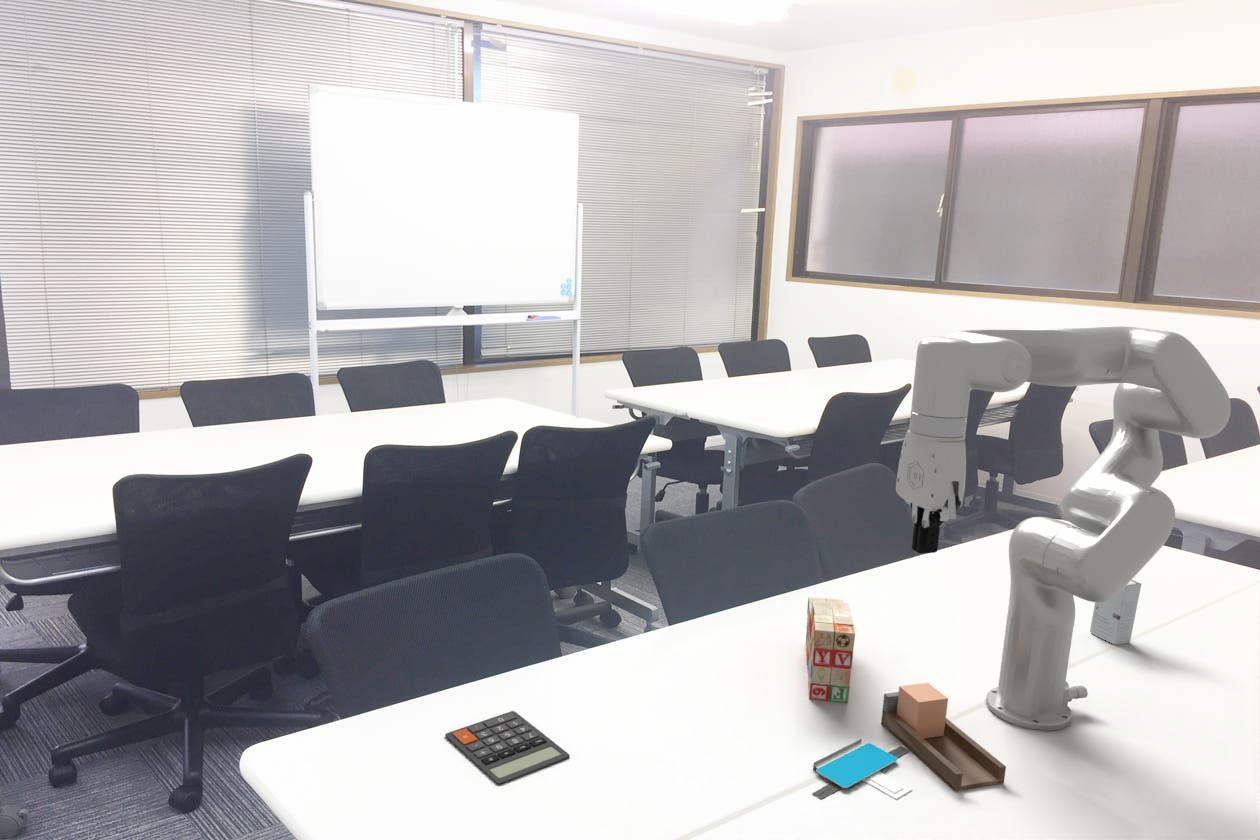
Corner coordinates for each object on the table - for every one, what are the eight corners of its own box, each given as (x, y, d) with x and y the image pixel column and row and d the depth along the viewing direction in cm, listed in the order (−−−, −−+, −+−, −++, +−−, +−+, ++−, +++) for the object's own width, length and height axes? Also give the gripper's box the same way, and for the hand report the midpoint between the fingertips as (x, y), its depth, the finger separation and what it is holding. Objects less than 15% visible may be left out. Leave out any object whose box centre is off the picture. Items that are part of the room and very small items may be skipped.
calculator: (513, 709, 141) (570, 754, 130) (513, 714, 141) (570, 760, 130) (444, 732, 134) (498, 782, 123) (444, 738, 134) (498, 788, 123)
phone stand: (857, 826, 118) (858, 815, 118) (786, 782, 127) (787, 771, 127) (945, 774, 131) (946, 763, 130) (875, 737, 140) (876, 727, 139)
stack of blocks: (804, 644, 170) (809, 580, 167) (839, 647, 169) (845, 583, 166) (808, 700, 149) (814, 628, 147) (848, 704, 148) (855, 632, 146)
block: (923, 718, 143) (927, 682, 142) (943, 735, 138) (948, 698, 137) (895, 722, 141) (899, 686, 140) (914, 739, 137) (918, 702, 135)
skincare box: (1088, 633, 179) (1097, 573, 177) (1105, 630, 181) (1114, 571, 179) (1115, 646, 174) (1125, 585, 171) (1133, 643, 176) (1142, 582, 173)
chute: (926, 717, 145) (929, 688, 144) (1003, 782, 128) (1008, 749, 127) (881, 723, 142) (884, 693, 141) (954, 791, 125) (958, 757, 125)
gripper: (884, 416, 136) (873, 536, 139) (947, 438, 122) (933, 571, 125) (928, 415, 138) (916, 533, 141) (995, 436, 124) (980, 567, 127)
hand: (924, 550), depth 133 cm, fingers closed
